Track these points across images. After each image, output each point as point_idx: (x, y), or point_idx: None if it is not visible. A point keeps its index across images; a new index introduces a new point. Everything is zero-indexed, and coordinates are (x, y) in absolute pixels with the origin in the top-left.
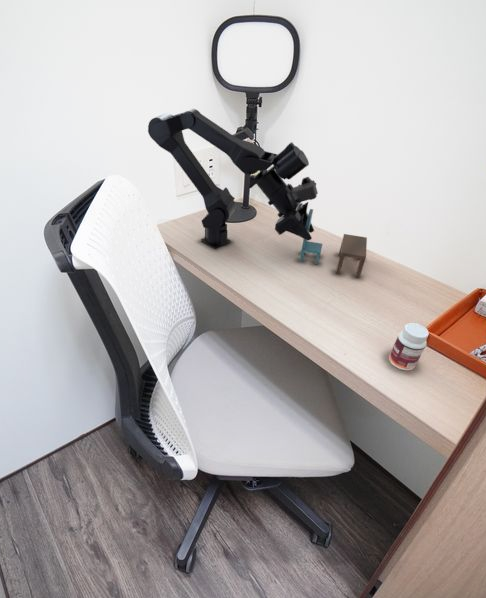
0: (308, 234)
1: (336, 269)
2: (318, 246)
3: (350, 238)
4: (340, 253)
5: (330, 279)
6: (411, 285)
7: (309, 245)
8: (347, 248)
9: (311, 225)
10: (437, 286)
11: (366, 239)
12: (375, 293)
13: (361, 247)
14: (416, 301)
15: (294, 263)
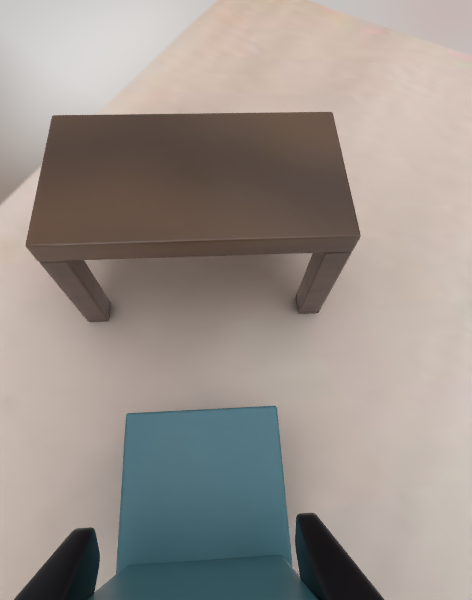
0: (358, 574)
1: (303, 306)
2: (189, 437)
3: (100, 198)
4: (104, 306)
5: (385, 330)
6: (259, 66)
7: (200, 522)
8: (276, 205)
9: (57, 595)
10: (228, 13)
11: (85, 115)
12: (385, 158)
13: (221, 134)
14: (356, 60)
15: None
